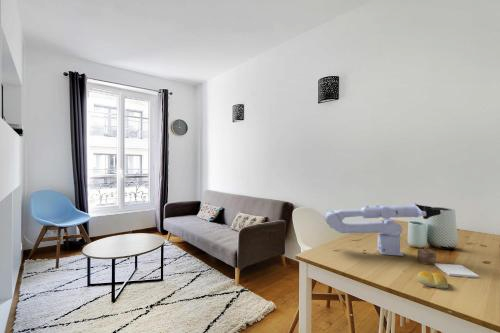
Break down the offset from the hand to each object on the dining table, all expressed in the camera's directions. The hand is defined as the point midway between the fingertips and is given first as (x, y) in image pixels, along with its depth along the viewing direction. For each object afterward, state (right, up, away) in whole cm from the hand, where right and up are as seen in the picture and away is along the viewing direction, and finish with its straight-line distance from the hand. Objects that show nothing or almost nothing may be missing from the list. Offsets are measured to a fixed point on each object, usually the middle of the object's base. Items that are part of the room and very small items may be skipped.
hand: (435, 210), depth 116 cm
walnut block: (-10, -22, -8) cm, 25 cm away
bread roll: (-22, -22, -27) cm, 41 cm away
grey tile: (-5, -22, -17) cm, 28 cm away
